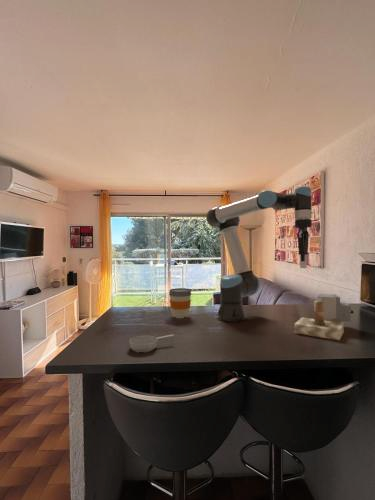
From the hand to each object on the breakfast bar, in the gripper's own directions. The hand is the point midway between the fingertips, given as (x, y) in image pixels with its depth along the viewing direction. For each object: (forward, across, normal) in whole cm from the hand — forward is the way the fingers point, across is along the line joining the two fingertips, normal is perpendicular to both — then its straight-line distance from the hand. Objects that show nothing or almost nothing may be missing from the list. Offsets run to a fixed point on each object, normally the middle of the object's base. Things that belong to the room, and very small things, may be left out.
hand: (303, 267), depth 135 cm
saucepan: (+29, -62, +42) cm, 80 cm away
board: (+28, -6, -8) cm, 30 cm away
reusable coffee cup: (+29, -17, +62) cm, 71 cm away
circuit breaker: (+29, +7, -13) cm, 32 cm away
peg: (+28, -6, -8) cm, 30 cm away
